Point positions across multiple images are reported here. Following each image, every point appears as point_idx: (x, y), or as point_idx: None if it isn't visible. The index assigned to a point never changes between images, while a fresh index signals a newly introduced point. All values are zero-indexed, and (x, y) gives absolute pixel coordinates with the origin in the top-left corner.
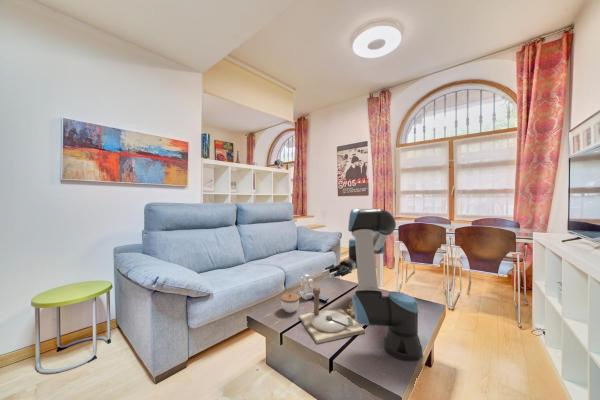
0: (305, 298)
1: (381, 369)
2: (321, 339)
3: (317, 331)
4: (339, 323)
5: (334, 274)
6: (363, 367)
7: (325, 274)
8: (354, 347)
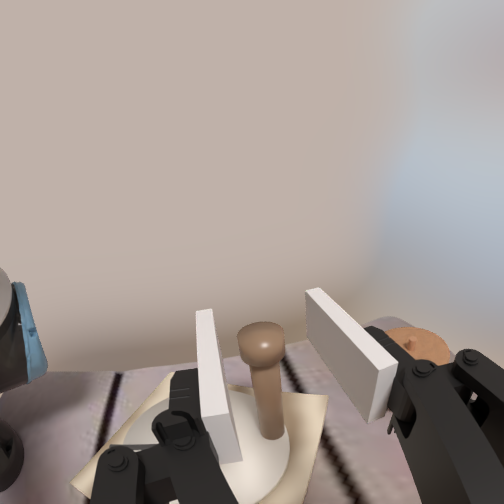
0: None
1: (33, 394)
2: (163, 380)
3: None
4: (147, 445)
5: (197, 374)
6: (60, 384)
7: (326, 351)
8: (85, 418)
